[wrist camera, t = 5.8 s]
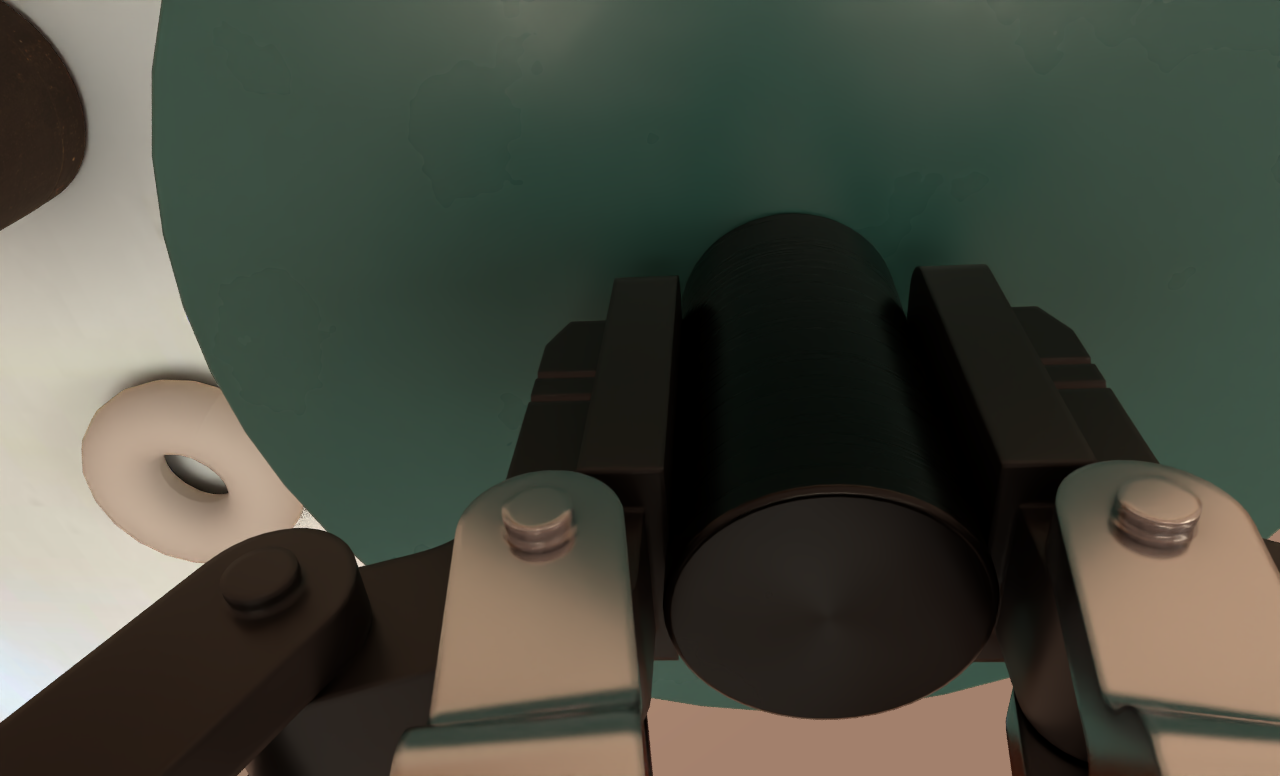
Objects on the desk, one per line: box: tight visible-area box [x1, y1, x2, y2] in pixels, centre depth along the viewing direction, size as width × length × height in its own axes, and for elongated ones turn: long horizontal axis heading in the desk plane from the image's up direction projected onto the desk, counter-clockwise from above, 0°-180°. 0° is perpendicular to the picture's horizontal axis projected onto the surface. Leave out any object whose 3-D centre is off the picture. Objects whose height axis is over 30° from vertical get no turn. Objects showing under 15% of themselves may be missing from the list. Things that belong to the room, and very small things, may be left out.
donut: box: [82, 380, 303, 563], centre depth 42 cm, size 10×4×10 cm
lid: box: [152, 0, 1280, 720], centre depth 10 cm, size 16×16×6 cm
